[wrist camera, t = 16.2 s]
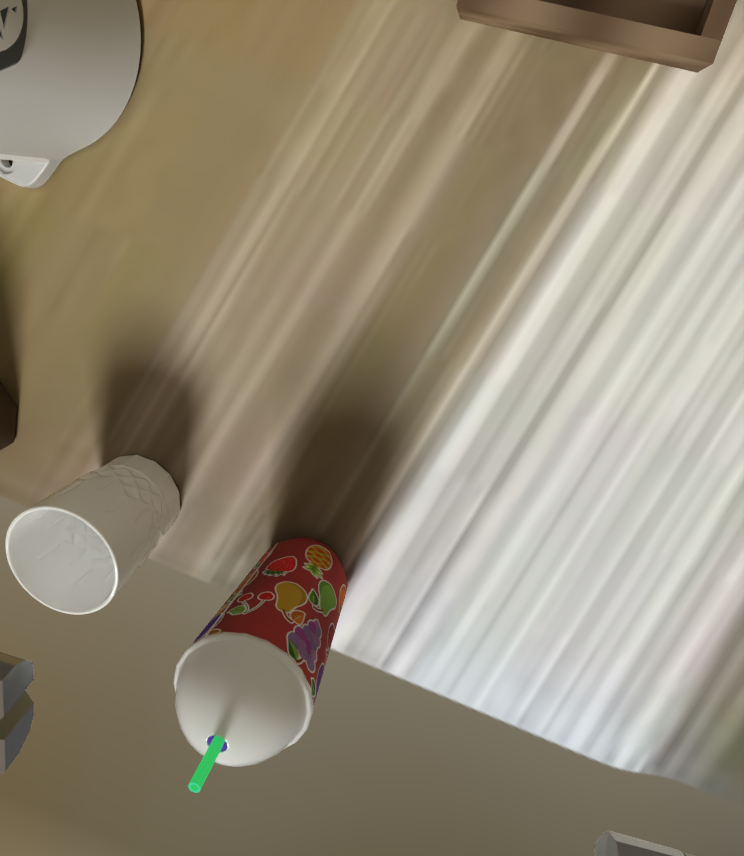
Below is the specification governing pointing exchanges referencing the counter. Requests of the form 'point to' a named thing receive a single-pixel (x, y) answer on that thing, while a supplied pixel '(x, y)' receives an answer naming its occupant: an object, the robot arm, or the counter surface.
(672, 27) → the tray
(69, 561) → the white cup
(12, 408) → the beer bottle
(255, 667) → the smoothie
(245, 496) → the counter surface
